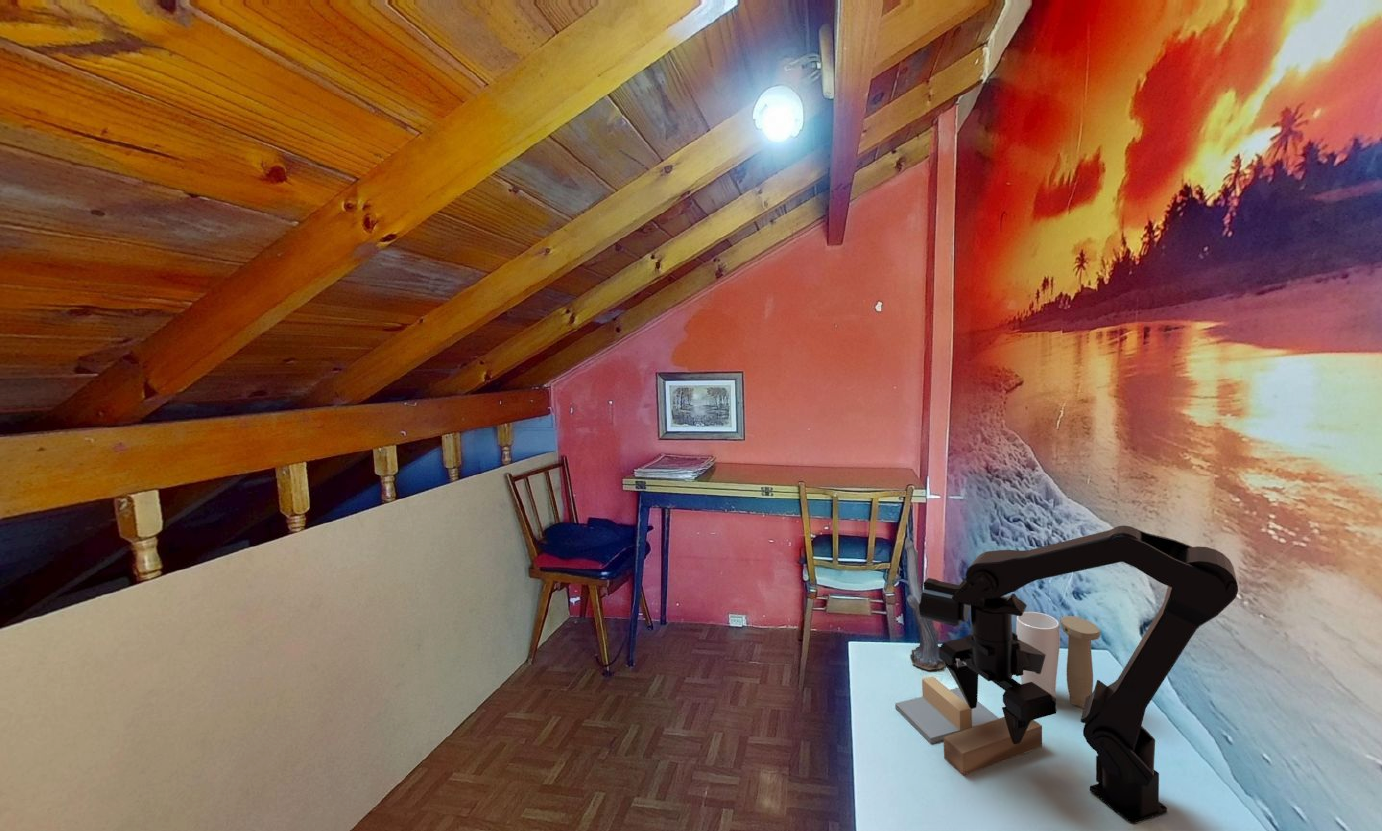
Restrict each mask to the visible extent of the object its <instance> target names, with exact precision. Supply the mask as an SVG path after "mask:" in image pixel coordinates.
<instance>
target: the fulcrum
mask: <svg viewBox="0 0 1382 831" xmlns="http://www.w3.org/2000/svg"><path fill="white" fill-rule="evenodd" d="M921 689H922V690H921V691H922V696H919V697H915V698H911V699H907V700H904V701H899V702H895V708H894V709H896V711H898V712H899V714H900V715H901V716H903V717H904V718H905V720H907V722H908V723H910V724H911V726H912V727H914V729H915V730H916V731H918V732H919V733H920V734H921V736H922V737H924V739H926V741H927V742H928V743H929V744H930V745H931V744H934V743H937V742H938V743H939V742H941V741H944V737H945V736H948V735H951V734H954V733H957V732H960V731H963V730H966V729H969V728H972V727H975V726H978V725H981V724H984V723H987V722H990V721H993V720H996V719H999V718H1000V717H998V716H997V715H996V714H994V713H993V712H992V711H991V710H990V709H988V708H987V707H986V706H984V705H983V704H982V703H981V702H980V701H978V700H977V706H976V708H973V709H971V708H970V707H969V706H968V704H967V702H966V700H965V698H964V696H963V694H962V692H961V691H960V689H959V687H956V688H952V689H949V688H948V687H947V686H946V685H944V684H943V683H942V682H941V681H940V680H939V679H937V678H936V677H934V676H933V675H932V676H928V677H925V678H922V679H921Z"/></svg>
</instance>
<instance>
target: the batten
mask: <svg viewBox="0 0 1382 831" xmlns="http://www.w3.org/2000/svg"><path fill="white" fill-rule="evenodd" d="M998 718H999V719H996V720H993V721H990V722H987V723H984V724H981V725H978V726H975V727H972V728H969V729H966V730H963V731H960V732H957V733H954V734H951V735H948V736H945V737H944V740H943V755H944V756H943V758H944V760H945V761H947V762H948V764H950V766H952V767H953V768H954V769H955V770H957V771H958V773H960V774H961V776H967V775H968V774H971V773H974V772H976V771H979V770H981V769H985V768H987V767H990V766H994V765H996V764H999V763H1001V762H1004V761H1007V760H1010V759H1013V758H1016V757H1017V756H1020V755H1021V756H1022V755H1024V754H1025V753H1029V752H1031V751H1034V750H1037V749H1040V748H1042V747H1043V725H1042V724H1040V723H1039V722H1037V721H1035V719H1034V720H1032V721H1031V722H1030V724H1029V726H1028V728H1027V730H1026V732H1025V734H1024V736H1023V738H1022V740H1021V742H1020V743H1019V744H1013V742H1012V740H1011V737H1010V734H1009V731H1008V727H1007V724H1006V720H1005V717H1004V716H1003V717H998Z"/></svg>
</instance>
